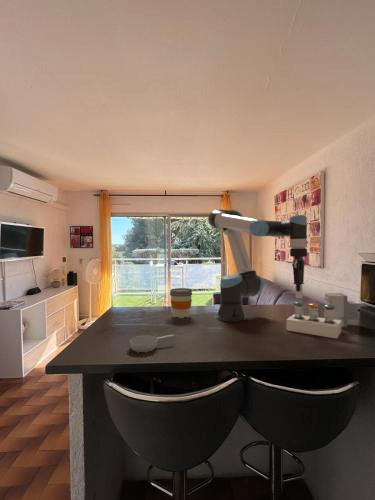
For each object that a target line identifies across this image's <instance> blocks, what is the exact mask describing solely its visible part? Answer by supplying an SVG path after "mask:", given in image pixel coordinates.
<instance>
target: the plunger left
mask: <svg viewBox="0 0 375 500" xmlns="http://www.w3.org/2000/svg"><path fill="white" fill-rule="evenodd" d="M293 305H294V314H295V319H301V320H303V316H304V305H305V303H304V302H302V301H293Z"/></svg>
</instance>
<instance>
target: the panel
mask: <svg viewBox="0 0 375 500" xmlns="http://www.w3.org/2000/svg"><path fill="white" fill-rule="evenodd" d="M286 331H289V332H296V333H300V334H301V333H302V334H308V335H313V336H321V337H325V338H331V339H332V338H333V339H338V338H339V336H341V335H340V334H341V333H342V327H341V320H334V324H330V323H325V317H319V316H318V322H315V321H309V315H303V320H301V319H295V313H293V314H292V315H291V316H289V317H288V318H286Z"/></svg>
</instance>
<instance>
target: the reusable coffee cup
mask: <svg viewBox="0 0 375 500" xmlns="http://www.w3.org/2000/svg"><path fill="white" fill-rule="evenodd" d="M192 295H193V290H192V288H188V287H187V288H186V287H179V288H178V287H177V288H172V289H170V291H169V296H170V306H171V309H172V316H173V318H175V317H178V318H177V319H185V318H184V317H187V318H189V317H190V312H191V308H192V300H193V299H192ZM188 316H189V317H188Z"/></svg>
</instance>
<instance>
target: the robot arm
mask: <svg viewBox="0 0 375 500" xmlns="http://www.w3.org/2000/svg"><path fill="white" fill-rule="evenodd" d="M208 223H209V225H210V226H211V227H212V228H213V229H219V230H220V229H222V232H223V234H224V235H225V236H226V238H227V240H228V244H229V247H230V251H231V255H232V257H233V261H234V265H235V269H236V271H237V273H236V274H235V273H234V274H227V275H224V276H222V277H221V278H220V283H219V287H220V288H219V289H220V291H219V292H220V305H219V309H218V310H217V311H218V312H217V320H219V321H223V322H231V323H234V322H235V323H236V322H237V323H238V322H243V321H245V320H246V318H247V317H246V312H245V309H244V306H243V298H248V297H249V298H250V297H255V296H259V295H260V294H261V293H262V292H263V290H264V287H265V285H264V280H263V278H262V277H261V276H260V275H257V271H256V270H255V269H253V267H252V265H251V261H250V258H249V255H248V251H247V248H246V245H245V241H244V238H243V234H242V233H247V234H252V235H253V236H255V237H272V238H273V237H274V238H279V237H289V247H290V249H289V256H290V257H294V258H293V263H292V272H293V285H295V299H303V296H304V295H303V285H304V284H305V282H304V278H305V263H306V262H305V260H304V257H308V249H307V247H308V243H309V241H308V222H307V216H306V215H304V214H294V215H291V216H289V219H288V220H281V221H279V220H263V219H257V218H252V217H246V216H243V214H242V213H241V212H240V211H238V210H235V209H223V208H217V209H214V210H212V211H211V212H210V213H209V215H208Z"/></svg>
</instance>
